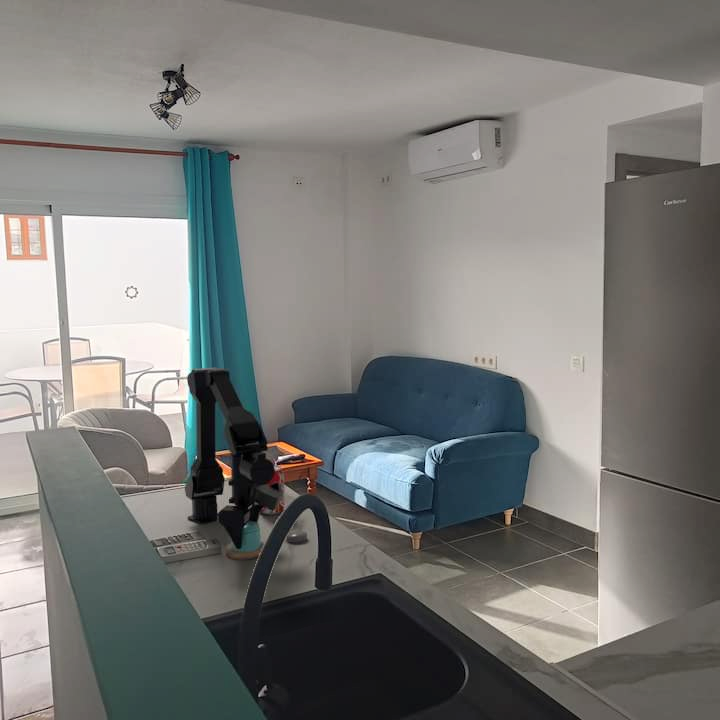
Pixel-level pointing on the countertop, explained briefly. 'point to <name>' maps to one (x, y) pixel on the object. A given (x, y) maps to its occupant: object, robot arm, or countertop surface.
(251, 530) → the teal plastic cap
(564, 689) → the countertop surface
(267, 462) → the robot arm
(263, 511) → the soda can
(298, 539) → the gray disc
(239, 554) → the round walnut base
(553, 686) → the countertop surface
